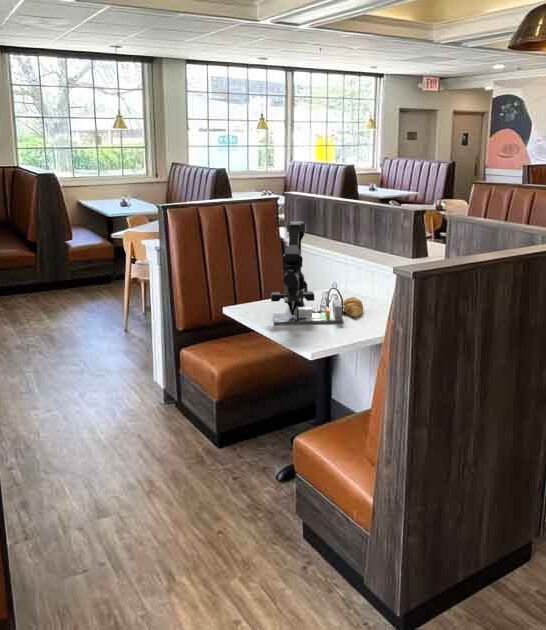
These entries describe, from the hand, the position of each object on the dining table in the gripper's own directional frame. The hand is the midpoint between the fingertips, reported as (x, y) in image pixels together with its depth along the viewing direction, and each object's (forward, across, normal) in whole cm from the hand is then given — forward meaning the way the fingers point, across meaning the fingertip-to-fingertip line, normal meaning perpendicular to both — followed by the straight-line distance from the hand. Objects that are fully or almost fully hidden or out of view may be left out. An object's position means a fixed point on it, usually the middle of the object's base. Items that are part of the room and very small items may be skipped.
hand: (292, 315), depth 277 cm
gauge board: (+2, +7, 0) cm, 7 cm away
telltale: (0, +15, 0) cm, 15 cm away
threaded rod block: (0, +7, 0) cm, 7 cm away
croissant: (+2, +28, +10) cm, 29 cm away
